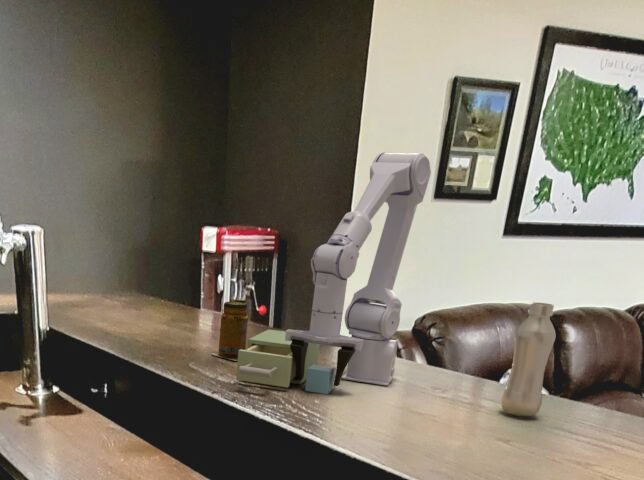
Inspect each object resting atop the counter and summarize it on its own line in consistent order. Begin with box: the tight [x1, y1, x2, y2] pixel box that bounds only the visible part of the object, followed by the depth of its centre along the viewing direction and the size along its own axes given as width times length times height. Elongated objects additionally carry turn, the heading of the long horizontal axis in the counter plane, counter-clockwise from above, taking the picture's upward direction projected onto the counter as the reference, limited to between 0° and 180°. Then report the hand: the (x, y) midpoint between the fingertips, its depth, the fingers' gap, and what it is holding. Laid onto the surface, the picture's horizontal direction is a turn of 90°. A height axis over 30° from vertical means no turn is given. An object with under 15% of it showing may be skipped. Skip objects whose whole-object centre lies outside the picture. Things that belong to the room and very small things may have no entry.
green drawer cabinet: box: [247, 329, 321, 385], centre depth 150 cm, size 14×12×8 cm
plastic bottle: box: [500, 301, 557, 417], centre depth 128 cm, size 6×7×20 cm
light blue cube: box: [304, 364, 336, 395], centre depth 139 cm, size 4×4×4 cm
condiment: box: [209, 301, 249, 362], centre depth 162 cm, size 7×8×12 cm
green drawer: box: [235, 344, 297, 388], centre depth 140 cm, size 18×10×6 cm, turn 157°
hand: (318, 382), depth 139 cm, fingers open, 6 cm apart
